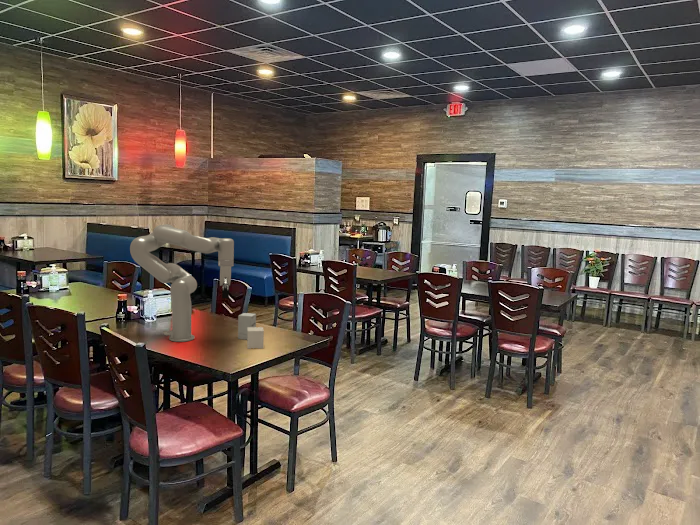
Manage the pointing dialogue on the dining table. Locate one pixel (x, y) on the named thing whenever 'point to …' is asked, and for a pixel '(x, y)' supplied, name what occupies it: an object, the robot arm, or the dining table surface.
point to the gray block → (255, 337)
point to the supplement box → (245, 324)
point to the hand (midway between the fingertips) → (225, 296)
